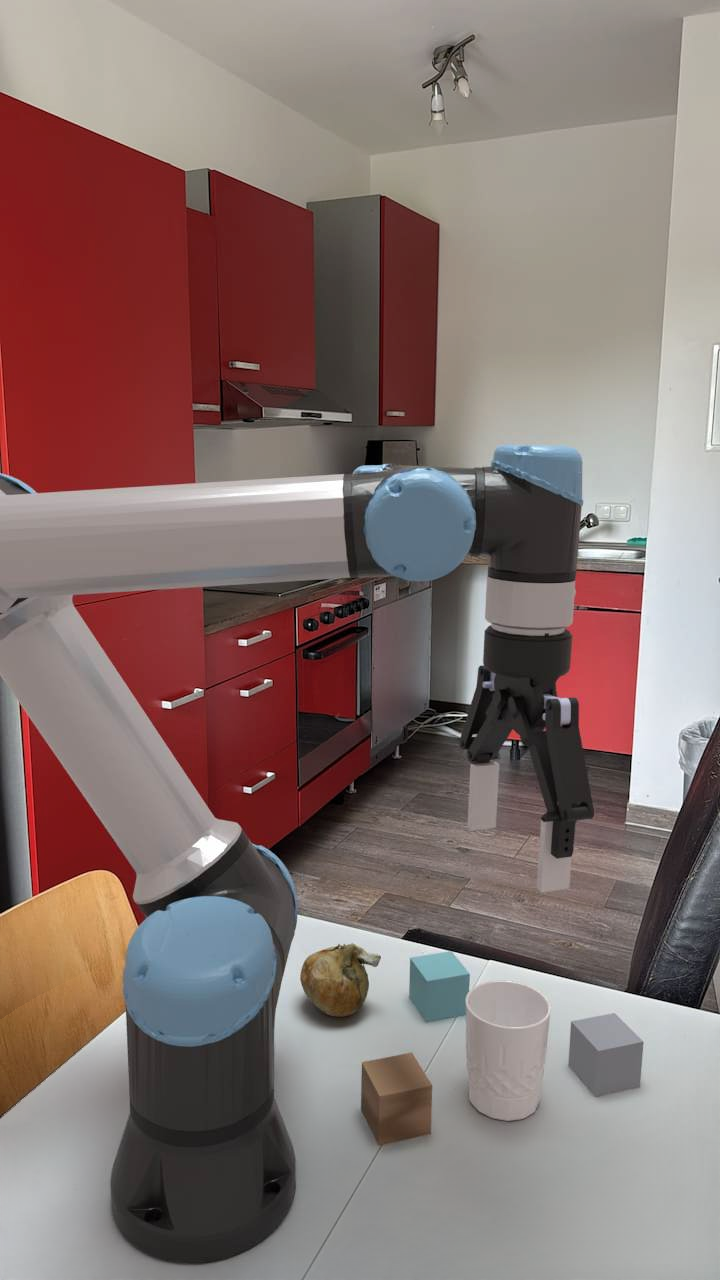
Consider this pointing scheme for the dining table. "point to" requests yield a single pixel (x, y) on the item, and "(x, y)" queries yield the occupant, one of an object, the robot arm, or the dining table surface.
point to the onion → (338, 978)
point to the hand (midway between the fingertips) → (514, 856)
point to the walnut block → (396, 1098)
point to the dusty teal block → (438, 986)
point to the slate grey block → (605, 1054)
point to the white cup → (506, 1048)
